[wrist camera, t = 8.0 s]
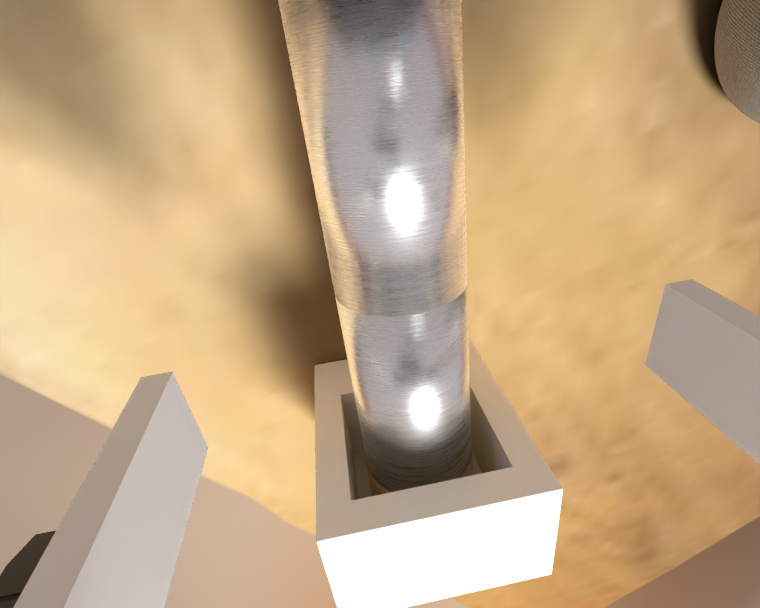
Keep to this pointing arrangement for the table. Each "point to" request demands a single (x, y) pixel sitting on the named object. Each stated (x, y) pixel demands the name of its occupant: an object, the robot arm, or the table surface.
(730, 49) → the smart speaker
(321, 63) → the tube
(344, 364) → the socket block
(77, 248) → the table surface
